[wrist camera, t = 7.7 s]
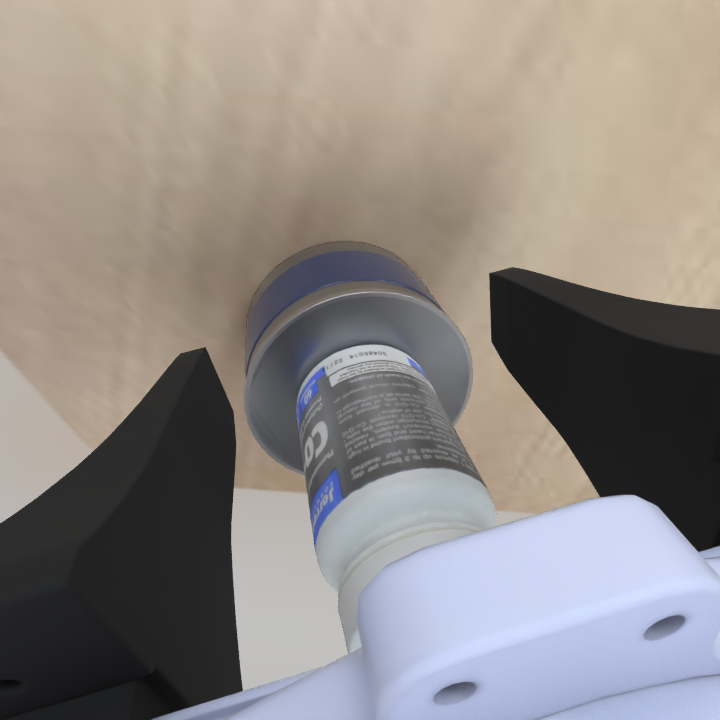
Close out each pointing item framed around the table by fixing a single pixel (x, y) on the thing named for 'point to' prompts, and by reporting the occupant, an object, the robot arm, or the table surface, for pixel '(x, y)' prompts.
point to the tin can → (341, 334)
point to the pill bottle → (381, 469)
